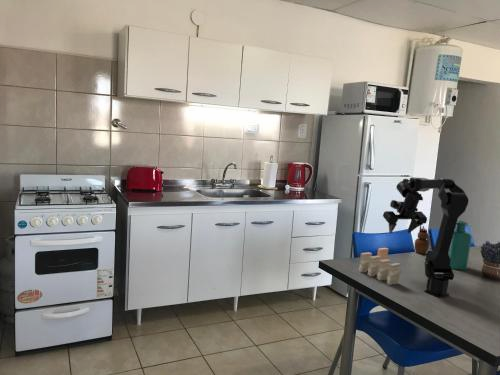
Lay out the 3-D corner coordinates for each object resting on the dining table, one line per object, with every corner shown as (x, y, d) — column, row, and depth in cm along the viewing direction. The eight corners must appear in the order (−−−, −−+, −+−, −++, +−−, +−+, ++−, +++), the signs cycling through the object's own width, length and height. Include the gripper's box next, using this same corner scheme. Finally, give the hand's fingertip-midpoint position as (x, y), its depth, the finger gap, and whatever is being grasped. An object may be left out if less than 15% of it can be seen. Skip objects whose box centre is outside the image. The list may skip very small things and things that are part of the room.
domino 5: (398, 283, 168) (401, 264, 167) (390, 284, 165) (392, 265, 164) (395, 282, 169) (397, 262, 168) (386, 283, 166) (389, 264, 165)
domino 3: (386, 265, 190) (388, 248, 189) (378, 266, 187) (380, 249, 186) (383, 264, 191) (385, 247, 190) (375, 265, 189) (378, 248, 188)
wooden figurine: (412, 253, 216) (416, 224, 214) (414, 250, 221) (417, 222, 219) (426, 255, 213) (430, 226, 211) (427, 253, 218) (431, 225, 216)
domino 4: (388, 279, 172) (390, 260, 171) (380, 280, 169) (382, 261, 168) (385, 277, 173) (387, 259, 172) (376, 279, 170) (379, 260, 169)
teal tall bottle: (460, 265, 201) (467, 220, 198) (468, 270, 193) (475, 224, 190) (439, 262, 202) (446, 218, 199) (446, 268, 193) (453, 221, 190)
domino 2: (378, 275, 176) (381, 256, 175) (370, 276, 173) (372, 257, 172) (375, 273, 177) (378, 255, 176) (367, 275, 175) (369, 256, 174)
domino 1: (369, 271, 180) (371, 253, 179) (361, 272, 178) (363, 254, 176) (366, 270, 182) (369, 252, 180) (358, 271, 179) (360, 253, 178)
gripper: (419, 194, 190) (408, 222, 198) (382, 193, 186) (372, 222, 193) (433, 207, 181) (421, 236, 188) (394, 207, 176) (383, 237, 184)
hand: (399, 232), depth 189 cm, fingers open, 9 cm apart
